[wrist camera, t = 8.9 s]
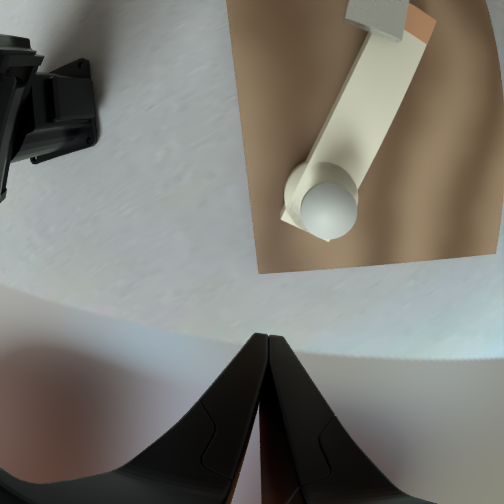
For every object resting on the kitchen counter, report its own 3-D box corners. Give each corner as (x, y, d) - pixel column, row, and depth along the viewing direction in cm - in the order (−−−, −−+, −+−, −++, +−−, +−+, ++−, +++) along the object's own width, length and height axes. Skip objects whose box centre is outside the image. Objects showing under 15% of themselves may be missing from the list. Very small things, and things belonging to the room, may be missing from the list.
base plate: (259, 267, 21) (258, 273, 20) (221, -48, 13) (219, -55, 12) (488, 248, 19) (495, 253, 18) (469, -27, 11) (475, -31, 10)
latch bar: (332, 236, 19) (345, 266, 15) (272, 208, 18) (271, 231, 14) (432, 31, 13) (465, 15, 9) (376, -4, 12) (398, -30, 9)
